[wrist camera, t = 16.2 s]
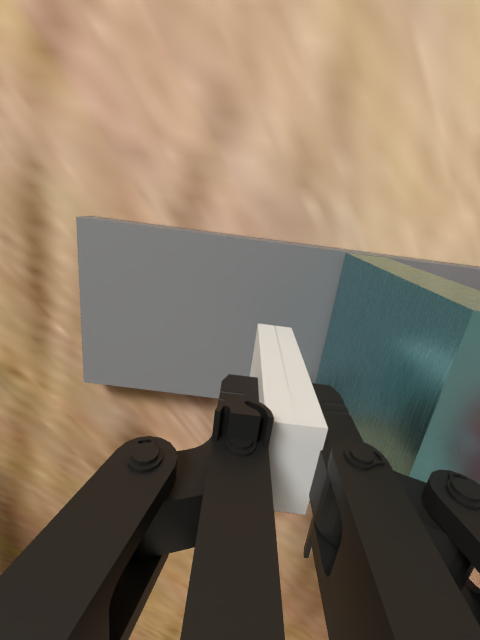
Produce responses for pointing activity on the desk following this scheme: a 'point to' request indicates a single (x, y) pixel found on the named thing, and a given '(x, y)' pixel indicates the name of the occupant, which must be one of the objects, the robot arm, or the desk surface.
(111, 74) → the desk surface
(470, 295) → the teal brushed slab
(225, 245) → the shelf board
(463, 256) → the desk surface
